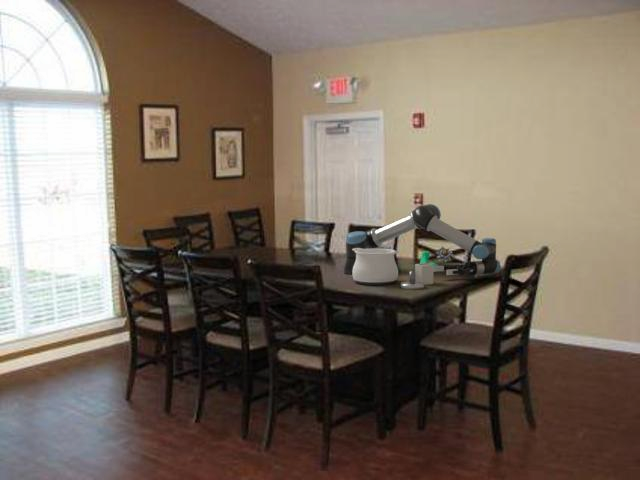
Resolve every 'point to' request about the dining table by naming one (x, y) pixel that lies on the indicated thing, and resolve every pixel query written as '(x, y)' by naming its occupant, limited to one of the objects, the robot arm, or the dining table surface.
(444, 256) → the passion flower
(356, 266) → the pot
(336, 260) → the dining table surface
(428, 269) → the box with orange strip
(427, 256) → the camera mount
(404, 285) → the hub plate
